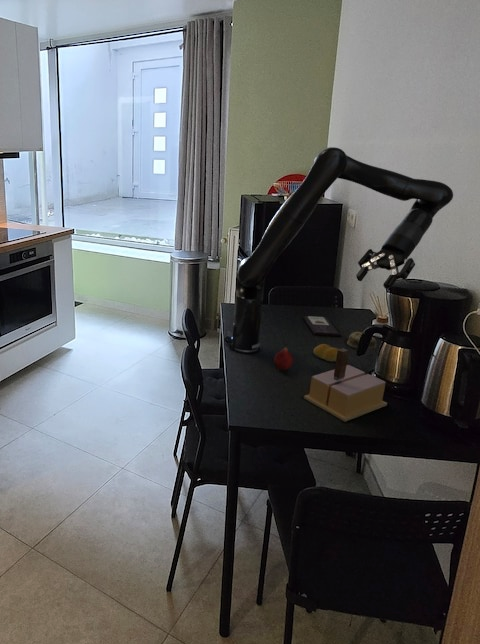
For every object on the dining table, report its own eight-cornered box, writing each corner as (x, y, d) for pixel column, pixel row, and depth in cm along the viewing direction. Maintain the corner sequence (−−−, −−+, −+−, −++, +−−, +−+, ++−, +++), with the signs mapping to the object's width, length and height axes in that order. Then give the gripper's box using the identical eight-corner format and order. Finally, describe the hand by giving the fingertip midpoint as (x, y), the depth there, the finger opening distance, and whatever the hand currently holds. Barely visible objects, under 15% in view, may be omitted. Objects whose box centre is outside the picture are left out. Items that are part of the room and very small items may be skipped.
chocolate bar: (315, 332, 186) (304, 316, 203) (314, 334, 187) (304, 318, 204) (339, 333, 185) (326, 317, 202) (339, 336, 186) (326, 319, 203)
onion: (282, 376, 154) (285, 353, 152) (269, 368, 159) (271, 346, 157) (295, 372, 157) (298, 349, 154) (282, 365, 162) (285, 343, 159)
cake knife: (333, 405, 136) (342, 352, 131) (328, 402, 137) (336, 349, 132) (341, 403, 137) (349, 350, 132) (335, 400, 139) (344, 347, 134)
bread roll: (335, 364, 162) (336, 353, 161) (310, 355, 169) (311, 345, 168) (346, 357, 167) (348, 347, 166) (321, 349, 174) (323, 339, 173)
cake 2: (362, 353, 172) (364, 340, 170) (340, 343, 181) (341, 330, 179) (383, 347, 176) (384, 333, 174) (360, 337, 184) (361, 324, 183)
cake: (344, 421, 129) (349, 397, 127) (303, 398, 141) (306, 375, 139) (387, 405, 138) (391, 382, 135) (344, 384, 149) (348, 362, 147)
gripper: (376, 228, 146) (345, 269, 144) (423, 237, 134) (390, 282, 132) (384, 244, 150) (354, 284, 148) (431, 253, 138) (399, 297, 136)
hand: (371, 283), depth 140 cm, fingers open, 8 cm apart
